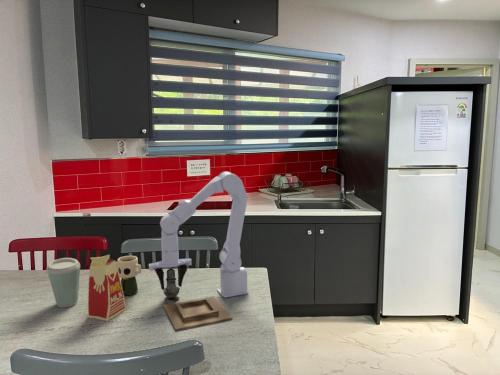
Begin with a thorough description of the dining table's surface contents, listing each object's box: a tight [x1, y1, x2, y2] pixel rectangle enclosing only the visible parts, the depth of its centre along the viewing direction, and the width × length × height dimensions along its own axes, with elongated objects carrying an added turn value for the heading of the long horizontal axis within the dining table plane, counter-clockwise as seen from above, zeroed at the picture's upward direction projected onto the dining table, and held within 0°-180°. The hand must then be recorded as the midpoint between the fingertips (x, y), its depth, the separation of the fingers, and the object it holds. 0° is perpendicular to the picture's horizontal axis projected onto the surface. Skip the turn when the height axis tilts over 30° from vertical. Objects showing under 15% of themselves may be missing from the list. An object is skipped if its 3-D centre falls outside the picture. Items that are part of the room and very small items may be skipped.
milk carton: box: [87, 254, 127, 322], centre depth 129 cm, size 9×9×20 cm
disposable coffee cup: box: [46, 257, 81, 308], centre depth 136 cm, size 11×11×15 cm
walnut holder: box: [162, 295, 233, 332], centre depth 130 cm, size 18×18×2 cm
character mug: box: [115, 255, 142, 296], centre depth 146 cm, size 11×7×13 cm, turn 71°
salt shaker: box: [162, 267, 181, 303], centre depth 140 cm, size 6×6×12 cm
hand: (171, 287), depth 140 cm, fingers open, 5 cm apart
